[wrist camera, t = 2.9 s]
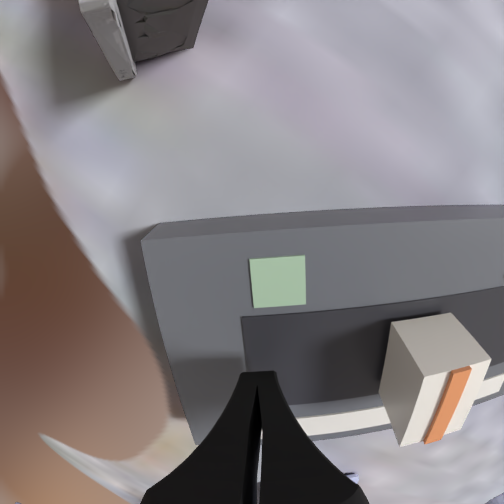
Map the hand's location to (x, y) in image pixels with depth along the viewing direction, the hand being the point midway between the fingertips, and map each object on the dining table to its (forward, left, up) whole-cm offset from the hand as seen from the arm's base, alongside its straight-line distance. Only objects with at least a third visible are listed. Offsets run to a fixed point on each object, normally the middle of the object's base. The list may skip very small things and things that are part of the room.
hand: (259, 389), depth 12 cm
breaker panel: (0, -7, -4) cm, 8 cm away
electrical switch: (+17, +3, -4) cm, 18 cm away
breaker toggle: (0, -7, -1) cm, 7 cm away
